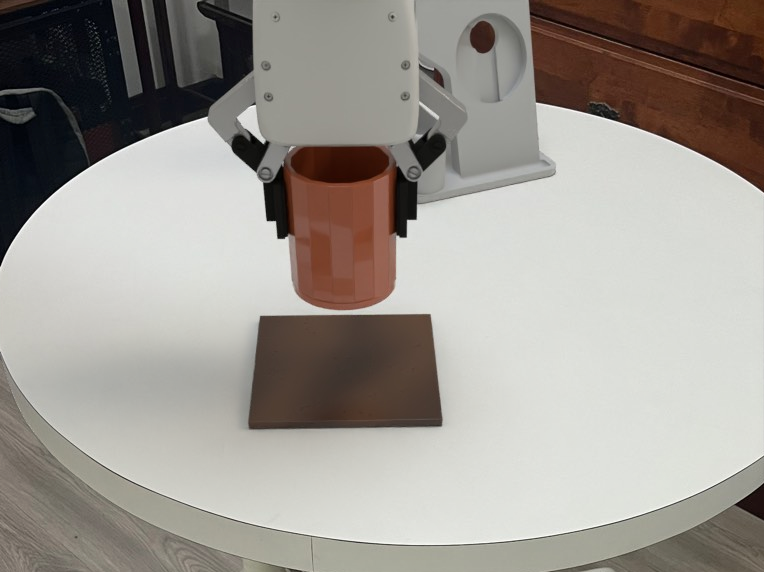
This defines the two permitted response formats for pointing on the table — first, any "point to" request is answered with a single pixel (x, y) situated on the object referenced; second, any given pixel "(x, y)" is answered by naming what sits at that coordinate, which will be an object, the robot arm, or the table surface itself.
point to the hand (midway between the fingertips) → (342, 227)
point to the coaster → (345, 372)
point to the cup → (341, 224)
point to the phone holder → (481, 97)
